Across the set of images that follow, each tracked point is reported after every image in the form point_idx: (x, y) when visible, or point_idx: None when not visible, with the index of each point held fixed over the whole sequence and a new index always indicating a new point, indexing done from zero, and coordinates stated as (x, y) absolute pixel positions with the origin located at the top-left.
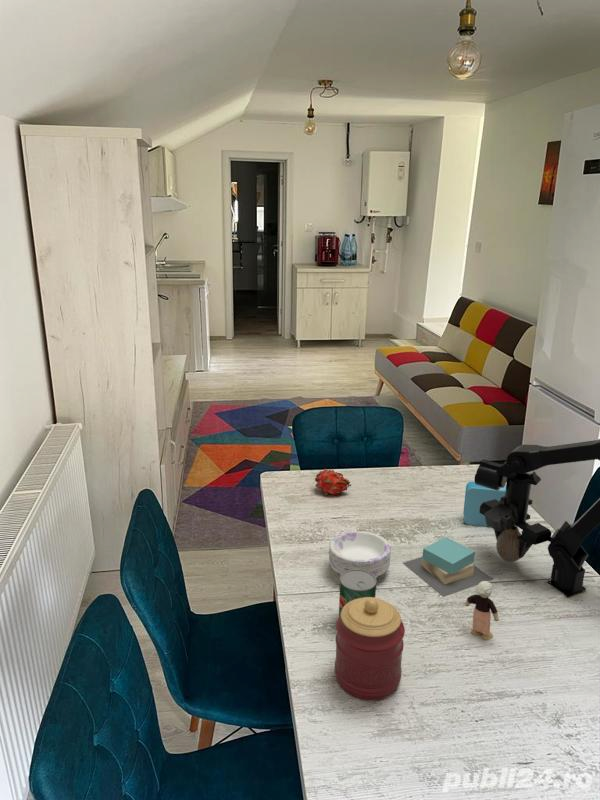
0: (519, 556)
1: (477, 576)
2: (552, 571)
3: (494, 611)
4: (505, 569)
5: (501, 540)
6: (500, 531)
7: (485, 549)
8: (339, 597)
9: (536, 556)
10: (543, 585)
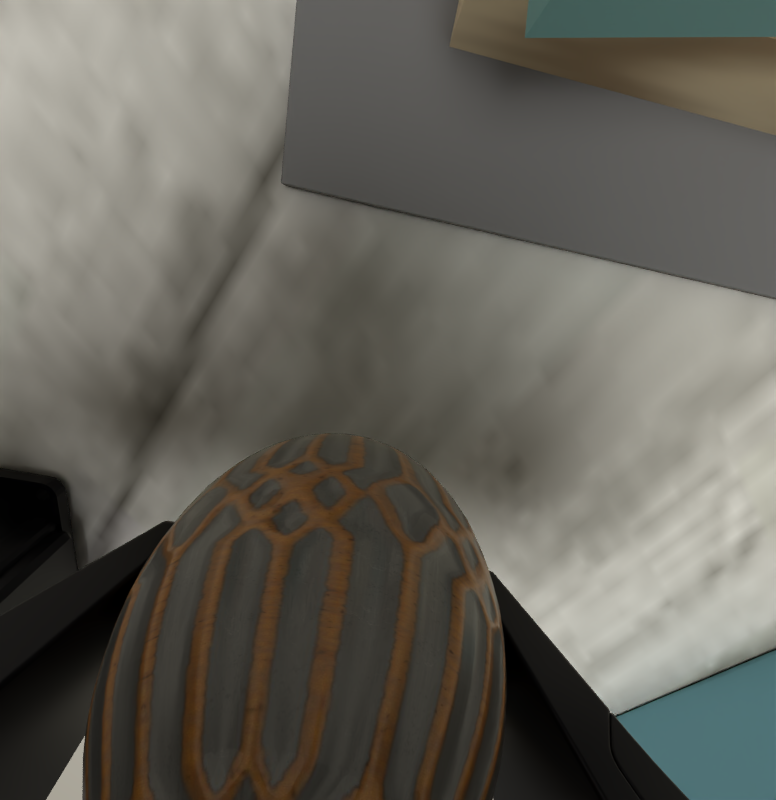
0: (163, 530)
1: (406, 73)
2: (5, 578)
3: None
4: (337, 415)
5: (362, 600)
6: (536, 769)
7: (573, 514)
8: None
9: None
10: (60, 448)
